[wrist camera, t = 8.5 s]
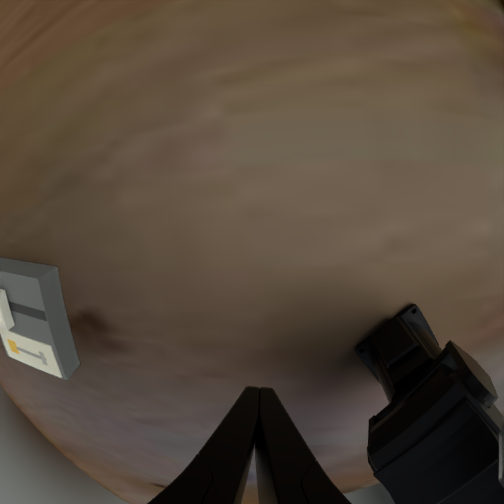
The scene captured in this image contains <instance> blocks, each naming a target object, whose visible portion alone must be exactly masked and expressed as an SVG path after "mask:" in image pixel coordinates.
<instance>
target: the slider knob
mask: <svg viewBox="0 0 504 504" xmlns="http://www.w3.org/2000/svg"><path fill="white" fill-rule="evenodd" d="M13 326H14V321H13V318H12V315H11V311H10V308H9V304H8V300H7V297H6V293H5V290H3V289H0V328H2V329H5V330H7V331H8V330H9V329H10V328H12V327H13Z"/></svg>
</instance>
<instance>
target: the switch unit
mask: <svg viewBox="0 0 504 504" xmlns="http://www.w3.org/2000/svg"><path fill="white" fill-rule="evenodd" d="M0 289H3V290H5V293H6V297H7V300H8V304H9V308H10V311H11V315H12V318H13V321H14V326H13V327H12V328H10V329H9V330H8V331H7V330H5V329H2V328H0V338H1V341H2V343H3V346H4V349H5V351H6V354H7V356H9V357H11V358H13V359H15V360H17V361H19V362H22V363H24V364H26V365H28V366H31V367H33V368H36V369H38V370H40V371H43V372H45V373H48V374H51V375H53V376H56V377H58V378H61V379H64V380H67V381H68V379H69V378H70V377H71V376H72V374H73V373H74V372H75V370H76V369H77V368H78V367H79V365H80V361H79V358H78V354H77V351H76V347H75V344H74V340H73V337H72V333H71V329H70V325H69V321H68V317H67V313H66V308H65V304H64V299H63V294H62V289H61V283H60V278H59V272H58V267H57V266H51V265H44V264H38V263H31V262H25V261H19V260H13V259H7V258H1V257H0Z"/></svg>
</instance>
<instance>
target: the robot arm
mask: <svg viewBox="0 0 504 504" xmlns="http://www.w3.org/2000/svg"><path fill="white" fill-rule="evenodd" d="M413 309H415V310H414V311H413V312H412V310H413ZM445 346H446V347H445V348H444V349H443V351H442V349H441V348H440V347H439V344H438V342H437V340H436V338H435V336H434V334H433V332H432V331H431V329H430V327H429V325H428V323H427V321H426V320H425V318H424V316H423V314H422V312H421V311H420V309H419V307H418V306H417V305H416V304H411V305H410V306H408V307H407V308H406V309H405V310H404V311H402V312H401V313H400V314H399V315H397V316H396V317H395V318H393V319H392V320H391V321H390V322H388V323H387V324H386V325H384V326H383V327H382V328H380V329H379V330H378V331H376V332H375V333H374V334H372V335H371V336H369V337H368V338H367V339H365V340H364V341H362V342H361V343H360V344H358V345H357V346H356V348H355V351H356V353H357V355H358V356H359V357H360V358H361V359H362V361H363V362H364V363H365V364H366V365H367V366H368V368H369V369H370V370H371V371H372V372H373V373H374V374H375V376H376V377H377V378H378V379H379V380H380V382H381V385H382V387H383V389H384V392H385V394H386V396H387V399H388V401H389V405H387V406H386V407H385V408H384V409H383V410H382V411H380V412H379V413H378V414H377V415H376V416H375V415H374V416H373V417H372V418H370V419H369V431H368V447H367V454H368V463H369V464H370V466H371V468H372V470H373V471H374V473H373V475H374V477H375V478H377V479H378V480H379V481H380V482H381V483H382V484H383V485H384V487H385V488H386V489H387V490H388V492H389V493H390V495H391V497H392V498H393V500H394V502H395V504H504V417H503V416H502V414H501V413H500V412H499V410H498V409H497V408H496V406H495V405H494V404H493V403H494V402H495V401H496V400H497V399H498V395H497V393H496V390H495V388H494V386H493V383H492V381H491V378H490V377H489V375H488V374H487V373H486V372H485V371H484V370H483V368H482V367H481V366H480V365H479V364H478V363H477V362H476V361H475V360H474V359H473V358H472V357H471V356H470V355H468V354H467V353H466V352H465V351H463V350H462V349H461V348H460V347H459V346H457V345H456V344H455V343H454V342H452V341H451V340H450V341H449V342H448V343H447V344H446V345H445ZM362 348H363V349H362ZM360 349H362V350H360ZM254 444H255V460H256V473H257V486H258V498H259V504H351V503H350V502H349V500H348V499H347V498H346V497H345V496H344V495H343V494H342V493H341V492H340V491H339V490H338V488H337V487H336V486H335V485H334V484H333V483H332V481H331V480H330V479H329V477H328V476H327V475H326V473H325V472H324V470H323V469H322V467H321V466H320V464H319V463H318V461H316V458H315V457H314V455H313V454H312V452H311V450H310V449H309V447H308V446H307V444H306V442H305V441H304V439H303V438H302V436H301V434H300V433H299V431H298V430H297V428H296V426H295V425H294V423H293V421H292V420H291V418H290V417H289V415H288V413H287V412H286V410H285V408H284V407H283V405H282V403H281V401H280V400H279V398H278V396H277V395H276V393H275V391H274V390H273V388H267V387H261V388H260V389H259V387H252V386H247V387H246V388H245V389H244V391H243V392H242V394H241V395H240V396H239V398H238V399H237V401H236V402H235V404H234V405H233V406H232V408H231V409H230V411H229V412H228V414H227V415H226V416H225V418H224V419H223V420H222V422H221V423H220V425H219V426H218V427H217V429H216V430H215V431H214V433H213V434H212V435H211V437H210V438H209V439H208V441H207V442H206V443H205V445H204V446H203V447H202V449H201V450H200V451H199V453H198V454H197V455H196V456H195V458H194V459H193V460H192V461H191V463H190V464H189V465H188V466H187V467H186V469H185V470H184V471H183V472H182V473H181V474H180V475H179V476H178V477H177V478H176V479H175V480H174V481H173V482H172V483H171V484H170V485H168V486H167V487H166V488H165V489H164V490H163V491H162V492H160V493H159V494H158V495H157V496H156V497H155V498H153V499H152V500H151V501H150V502H149V503H147V504H241V502H242V498H243V494H244V489H245V485H246V481H247V477H248V473H249V468H250V464H251V460H252V455H253V451H254Z"/></svg>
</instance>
